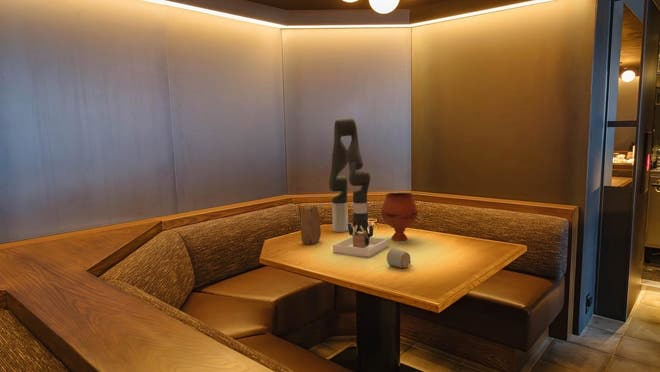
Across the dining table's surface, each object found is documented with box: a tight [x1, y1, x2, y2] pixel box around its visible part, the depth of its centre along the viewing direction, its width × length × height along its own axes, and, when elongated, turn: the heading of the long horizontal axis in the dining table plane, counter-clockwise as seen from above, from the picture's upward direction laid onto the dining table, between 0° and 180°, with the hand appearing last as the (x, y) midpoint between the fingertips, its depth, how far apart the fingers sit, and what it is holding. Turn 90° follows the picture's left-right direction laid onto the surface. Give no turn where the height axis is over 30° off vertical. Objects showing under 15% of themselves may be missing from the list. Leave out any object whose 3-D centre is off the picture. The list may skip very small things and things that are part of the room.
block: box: [300, 205, 322, 245], centre depth 230 cm, size 11×8×20 cm
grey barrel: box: [386, 247, 412, 269], centre depth 185 cm, size 11×8×8 cm
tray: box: [332, 235, 390, 259], centre depth 213 cm, size 22×20×4 cm
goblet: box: [381, 192, 418, 241], centre depth 231 cm, size 19×19×25 cm
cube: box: [353, 231, 369, 248], centre depth 213 cm, size 6×6×6 cm
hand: (361, 244), depth 213 cm, fingers closed on cube, 6 cm apart
